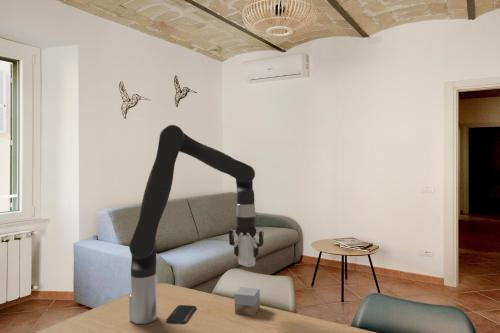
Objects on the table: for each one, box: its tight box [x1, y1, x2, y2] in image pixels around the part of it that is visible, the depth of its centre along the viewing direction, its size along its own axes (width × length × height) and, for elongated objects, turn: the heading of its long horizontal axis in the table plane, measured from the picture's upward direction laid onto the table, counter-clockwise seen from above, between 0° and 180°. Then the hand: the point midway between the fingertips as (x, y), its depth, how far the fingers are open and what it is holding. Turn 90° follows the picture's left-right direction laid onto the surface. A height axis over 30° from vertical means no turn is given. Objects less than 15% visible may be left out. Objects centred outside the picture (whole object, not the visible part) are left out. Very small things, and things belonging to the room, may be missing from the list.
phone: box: [165, 304, 197, 325], centre depth 142 cm, size 8×1×15 cm
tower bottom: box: [234, 298, 261, 317], centre depth 146 cm, size 8×8×4 cm
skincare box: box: [236, 234, 256, 268], centre depth 145 cm, size 6×4×12 cm
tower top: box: [234, 286, 261, 306], centre depth 146 cm, size 8×8×4 cm
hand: (246, 256), depth 145 cm, fingers closed on skincare box, 7 cm apart
